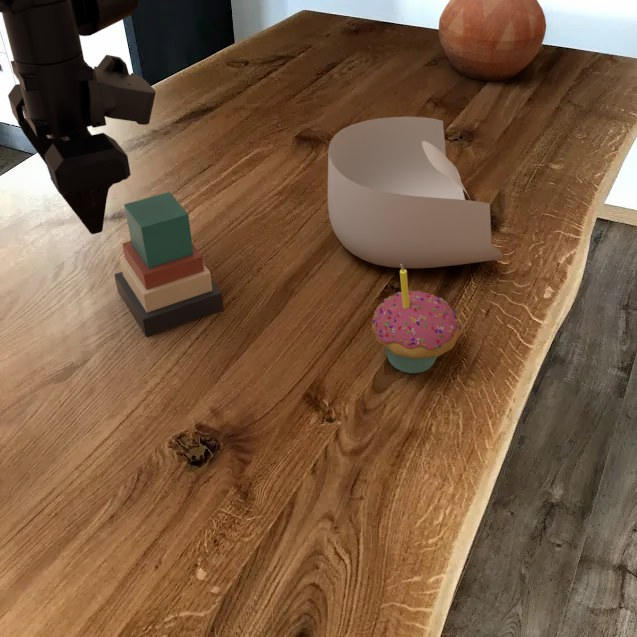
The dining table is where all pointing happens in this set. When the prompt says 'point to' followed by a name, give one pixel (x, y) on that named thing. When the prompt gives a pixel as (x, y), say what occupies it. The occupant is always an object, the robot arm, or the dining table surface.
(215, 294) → the stack
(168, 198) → the toy cube
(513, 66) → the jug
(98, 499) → the dining table surface
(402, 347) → the cupcake
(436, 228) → the bowl
